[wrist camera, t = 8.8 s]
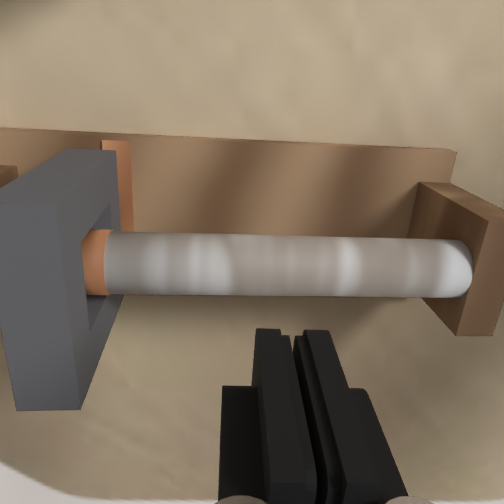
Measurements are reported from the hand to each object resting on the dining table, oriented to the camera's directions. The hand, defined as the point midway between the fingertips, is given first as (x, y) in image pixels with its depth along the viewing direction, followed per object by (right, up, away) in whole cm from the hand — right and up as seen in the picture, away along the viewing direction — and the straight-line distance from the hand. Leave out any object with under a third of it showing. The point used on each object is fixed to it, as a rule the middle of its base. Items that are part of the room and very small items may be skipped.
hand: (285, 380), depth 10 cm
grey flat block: (-8, +4, +10) cm, 13 cm away
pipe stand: (-2, +5, +12) cm, 13 cm away
